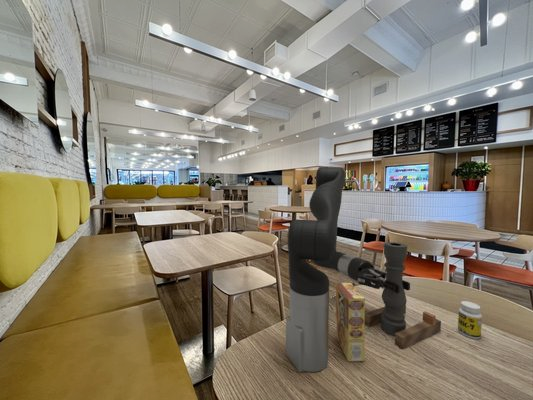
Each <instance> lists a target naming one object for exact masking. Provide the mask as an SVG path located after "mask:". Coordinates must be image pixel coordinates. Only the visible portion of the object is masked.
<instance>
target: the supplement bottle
mask: <svg viewBox="0 0 533 400" xmlns="http://www.w3.org/2000/svg"><path fill="white" fill-rule="evenodd" d="M457 316H458V320H457V321H458V322H457V330H458V332H459V333H460V334H461V335H462V336H465V337H467V338H470V339H475V340H479V339H481V337H482V321H483V315H482V313H481V306H480V305H479V304H478V303H474V302H471V301H468V300H467V301H465V300H463V301H461V302H460V308H458V315H457Z"/></svg>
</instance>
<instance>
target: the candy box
mask: <svg viewBox="0 0 533 400" xmlns="http://www.w3.org/2000/svg"><path fill="white" fill-rule="evenodd" d="M335 289H336V291H335V294H336V297H335V298H336V299H335V301H336V302H335V303H336V304H335V306H336V308H335V310H336V312H335V313H336V314H335V315H336V318H335V321H336V322H335V323H336V324H335V325H336V337H335V338H336V340H337V341H338V343H339V345H340V348H341V350H342V352H343V353H344V356H345V357H346V360H347V361H348V362H364V361H365V332H366V331H365V330H366V329H365V326H366V325H365V313H366V311H365V306H366V305H365V304H366V303H365V302H366V298H365V297H364V296H363V295H362V294H361V293H360V291H358V290H357V289H356V287H355V286H354V285H353V284H352V283H351V282H337V283H336V288H335Z"/></svg>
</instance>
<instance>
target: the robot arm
mask: <svg viewBox="0 0 533 400" xmlns="http://www.w3.org/2000/svg"><path fill="white" fill-rule="evenodd" d="M345 183H346V172H345V170H344V168H343V167H340V166H320V167H318V169H317V170H316V174H315V189H314V191H313V192H312V195H311V196H310V199H309V203H308V204H309V209H310V212H311V214H312V215H313V217H314V218H315V219H316V220H314V219H294V220H292V221H291V222H290V224H289V227H288V231H287V249H288V252H287V253H288V254H287V255H288V276H289V278H288V279H289V315H288V316H286V317H285V354H286V357H288V359H289V360H290V362H291V363H292V364H293V366H294V367H295V368H296V370H297V372H299V373H302V372H309V373H315V372H320V371H323V370H324V369H325V368H326V367H327V366H328V364H329V329H330V328H329V327H330V326H329V325H330V322H329V319H330V318H329V317H330V314H329V313H330V279H329V276H328V275H327V274H326V273H325V272H324V271H321V270H320V269H318V268H316V267H314V266H312V264H310V263H309V262H308V261H312V263H313V264H314V265H316V266H319V267H322V268H325V269H326V268H327V269H332V270H334V271H336V272H338V273H341V274H342V275H343V276H345V277H347V278H350V279H351V280H354V281H356V282H358V283H357V284H359V285H363V286H366V287H369V288H372V289H376V290H380V289H382V290H384V289H386V288H387V289H389V290H391V291H393V292H395V293H400V290H401V287H400V285H398V284H395V283H392V282H389V281H386V280H387V269H386V268H385V270H381V269H380V268H376V267H374V265H373V263H371V261H369V260H366V259H364V258H360V257H359V256H358V257H357V256H356V255H351V254H347V253H343V252H341V251H337V237H338V221H339V215H340V209H341V204H342V197H343V190H344V186H345ZM307 260H308V261H307ZM402 282H403V287H404V291H409V290H411V283H410V282H409V281H406V280H404V279H402Z"/></svg>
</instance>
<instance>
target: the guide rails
mask: <svg viewBox="0 0 533 400" xmlns="http://www.w3.org/2000/svg"><path fill="white" fill-rule="evenodd" d="M383 309H385V306H382V307H380V308H376V309H373V310H370V311H367V312H365V326H366V327H368V328H370V327H373V326H375V325H378V324H381V316H382V314H383V313H382V311H383ZM406 309H407V304H406V305H405V307H404V308H403V310H402V312H403V314H404V315H405V314H406V313H407V310H406ZM441 326H442V320H440V319H438V318H437V317H436V315H434V314H432V313H431V312H428V311H423V312H422V321H421V322H418V323H416V324H414V325H411V326H409V327H406V329H404V330H402V331H399V332H397V333H395V337H394V345H395V346H397V347H398V348H399V349H401V350H405V349H407V348H408V347H410V346H412V345H415V344H417V343H419V342H421V341H423V340H425V339H427V338H429V337H432V336H433V335H435V334H438V333H440V332H441V331H442V327H441Z"/></svg>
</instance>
